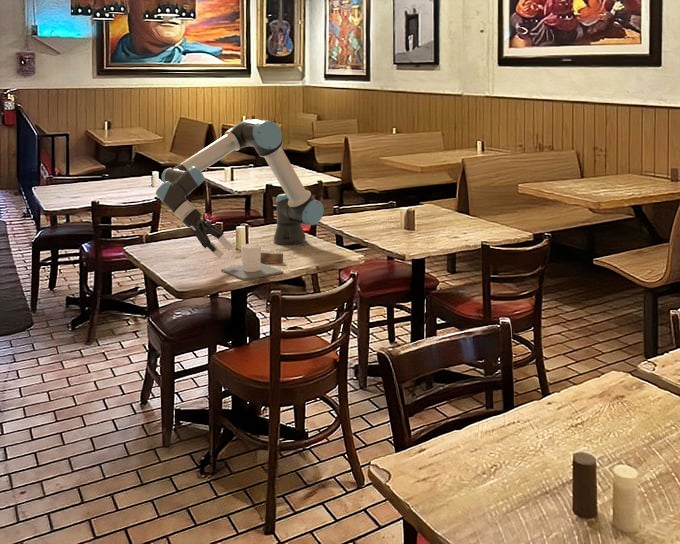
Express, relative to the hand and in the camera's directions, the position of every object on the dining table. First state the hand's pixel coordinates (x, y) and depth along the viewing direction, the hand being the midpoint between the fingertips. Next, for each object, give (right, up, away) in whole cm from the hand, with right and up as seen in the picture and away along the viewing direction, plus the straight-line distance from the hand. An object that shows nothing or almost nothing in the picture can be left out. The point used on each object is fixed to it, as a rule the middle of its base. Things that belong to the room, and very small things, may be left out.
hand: (226, 252), depth 301 cm
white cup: (+10, -7, 0) cm, 12 cm away
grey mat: (+10, -8, +1) cm, 13 cm away
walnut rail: (+14, -4, +17) cm, 22 cm away
